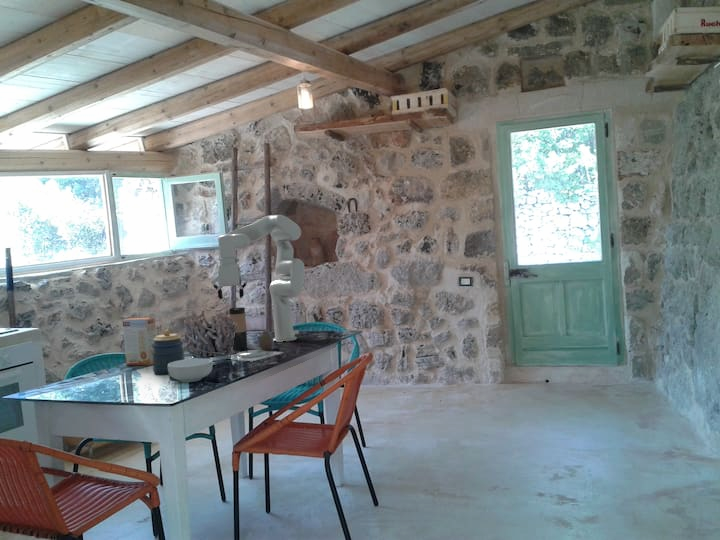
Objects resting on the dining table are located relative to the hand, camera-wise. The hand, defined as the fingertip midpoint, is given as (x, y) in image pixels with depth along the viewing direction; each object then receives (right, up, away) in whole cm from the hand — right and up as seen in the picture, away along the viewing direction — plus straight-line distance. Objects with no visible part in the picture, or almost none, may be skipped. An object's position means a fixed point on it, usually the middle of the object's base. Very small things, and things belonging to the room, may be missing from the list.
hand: (231, 298), depth 300 cm
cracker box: (-38, -30, -9) cm, 49 cm away
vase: (+15, -25, +9) cm, 31 cm away
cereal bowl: (-5, -30, -51) cm, 59 cm away
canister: (-19, -30, -31) cm, 47 cm away
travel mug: (+1, -26, +15) cm, 30 cm away
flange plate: (+11, -26, -7) cm, 29 cm away
